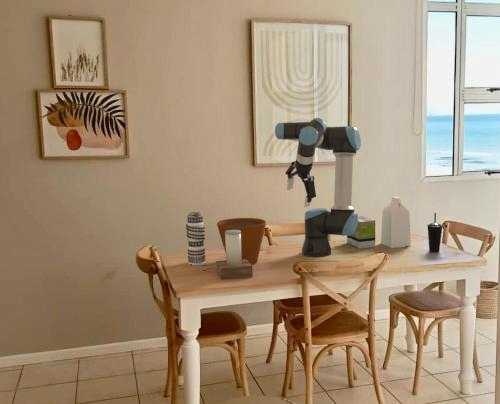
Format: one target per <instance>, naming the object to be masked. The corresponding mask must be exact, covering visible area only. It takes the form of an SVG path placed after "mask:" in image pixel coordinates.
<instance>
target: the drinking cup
mask: <svg viewBox="0 0 500 404" xmlns="http://www.w3.org/2000/svg"><path fill="white" fill-rule="evenodd" d="M436 215H437V213H436V212H434V215H433V216H434V220H433V221H434V222H431V223H429V224H427V225H426V226H427V236H428V251H429V253H434V254H436V253H440V247H441V242H442V241H441V238H442V233H443V227H444V225H443V224H441V223H438V222H437V218H436V217H437V216H436Z"/></svg>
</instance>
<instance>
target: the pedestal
mask: <svg viewBox="0 0 500 404" xmlns="http://www.w3.org/2000/svg"><path fill="white" fill-rule="evenodd" d="M215 266H216V273H217V274H218V277H219V279H221V280H234V279H244V278H245V279H246V278H247V279H248V278H253V265H251V264H250V263H249V262H248V260H247V259H242V264H240V265H234V266H232V265H227V264H226V259H225V260H216V264H215Z"/></svg>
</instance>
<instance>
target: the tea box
mask: <svg viewBox="0 0 500 404" xmlns="http://www.w3.org/2000/svg"><path fill="white" fill-rule="evenodd" d="M346 243H347V244H349V245H351V246H354V247H355V248H357V249H368V248H370V249H371V248H376V220H374V219H371V218H369V217H366V216H359V215H358V224H357V228H356V230H355V232H354V234H353V235H351V236H346Z"/></svg>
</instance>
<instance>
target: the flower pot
mask: <svg viewBox="0 0 500 404" xmlns="http://www.w3.org/2000/svg"><path fill="white" fill-rule="evenodd" d="M266 225H267V221H266V220H264V219H261V218H258V217H256V218H255V217H238V218H237V217H236V218H235V217H234V218H233V217H232V218H225V219H222V220H218V222H216V226H217V228H218V233H219V235H220V239H221V243H222V246H223V249H224V252H225V254H226V242H225V231H227V230H240V231H241V254H242V259H247V260H248V262H249V263H250V264H251V265H252V266H254V265H256V264H257V263H258V259H259V255H260V253H261V252H260V251H261V247H262V242H263V237H264V233H265V228H266Z"/></svg>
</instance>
